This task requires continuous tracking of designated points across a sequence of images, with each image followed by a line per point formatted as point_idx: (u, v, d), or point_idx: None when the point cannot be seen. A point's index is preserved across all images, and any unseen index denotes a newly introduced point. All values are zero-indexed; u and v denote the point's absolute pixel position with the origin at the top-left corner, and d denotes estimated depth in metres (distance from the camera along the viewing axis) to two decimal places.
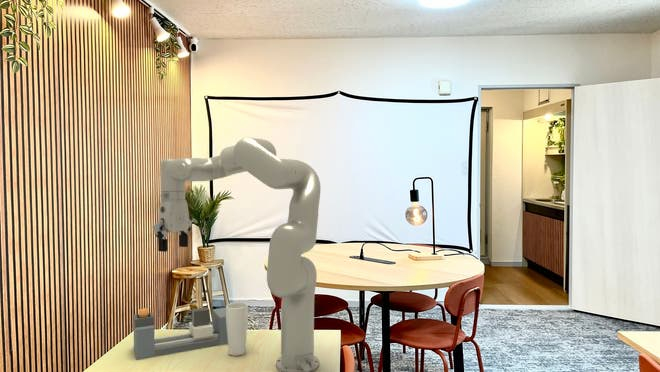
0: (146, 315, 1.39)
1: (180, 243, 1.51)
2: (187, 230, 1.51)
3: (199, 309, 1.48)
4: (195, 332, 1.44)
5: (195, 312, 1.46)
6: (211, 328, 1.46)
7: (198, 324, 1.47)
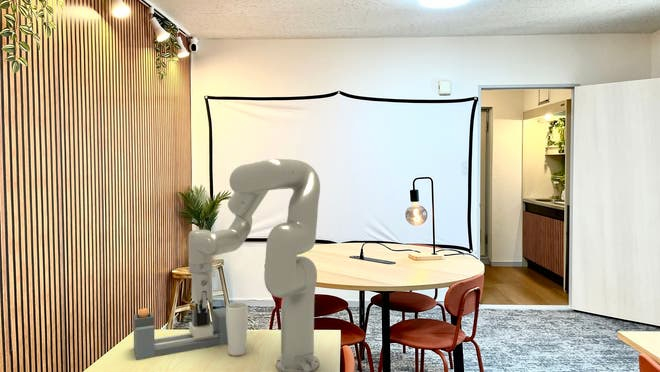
0: (146, 315, 1.39)
1: None
2: None
3: None
4: (195, 332, 1.44)
5: (195, 312, 1.46)
6: (211, 328, 1.46)
7: None
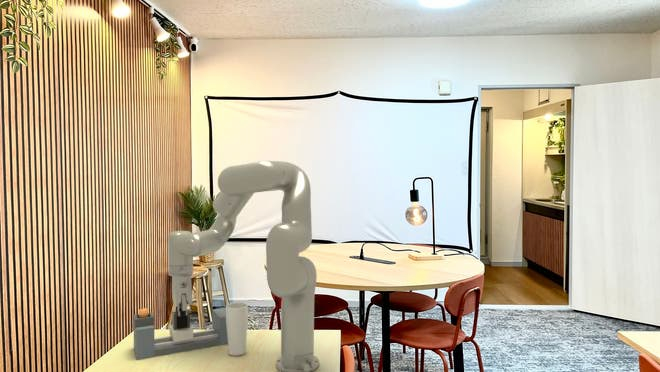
0: (146, 315, 1.39)
1: None
2: None
3: None
4: (175, 335, 1.41)
5: (175, 315, 1.43)
6: (191, 331, 1.43)
7: None
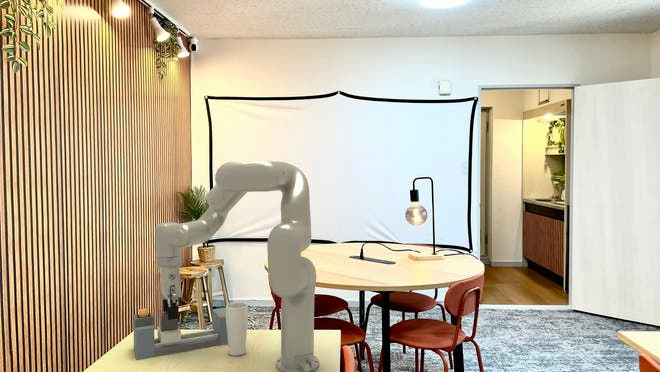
0: (146, 315, 1.39)
1: (165, 308, 1.47)
2: None
3: (167, 314, 1.43)
4: (162, 337, 1.39)
5: (163, 317, 1.41)
6: (179, 333, 1.41)
7: (166, 329, 1.42)
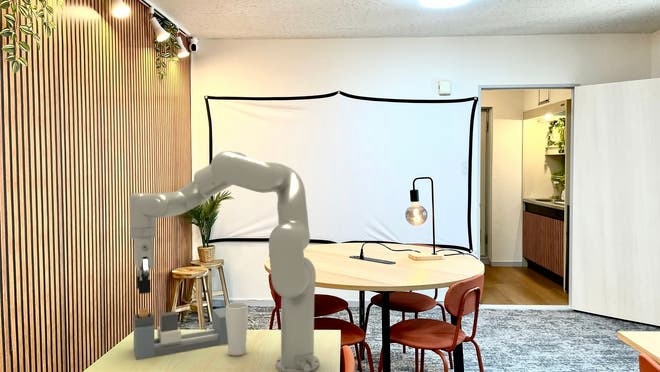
0: (146, 315, 1.39)
1: None
2: None
3: (167, 314, 1.43)
4: (162, 337, 1.39)
5: (163, 317, 1.41)
6: (179, 333, 1.41)
7: (166, 329, 1.42)
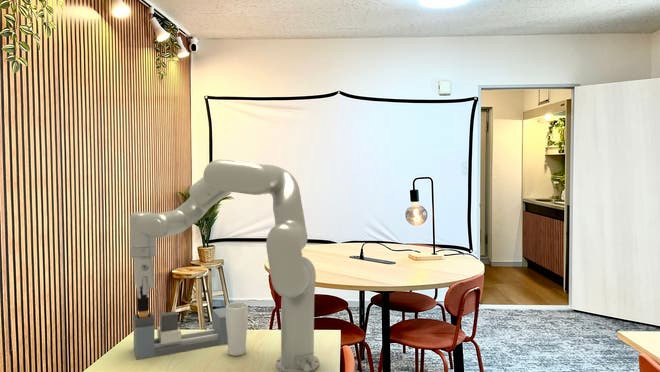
0: (146, 316, 1.39)
1: None
2: None
3: (167, 314, 1.43)
4: (162, 337, 1.39)
5: (163, 317, 1.41)
6: (179, 333, 1.41)
7: (166, 329, 1.42)
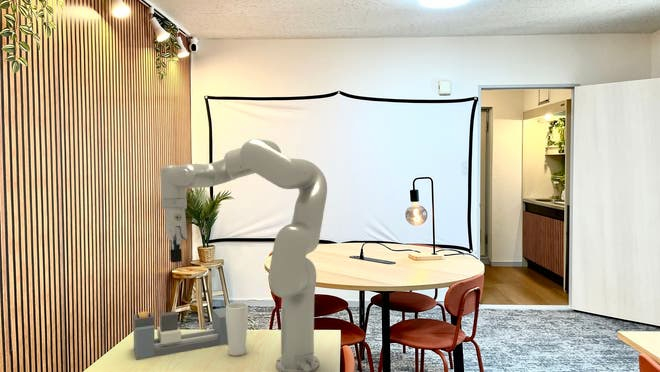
0: None
1: None
2: None
3: (167, 314, 1.43)
4: (162, 337, 1.39)
5: (163, 317, 1.41)
6: (179, 333, 1.41)
7: (166, 329, 1.42)
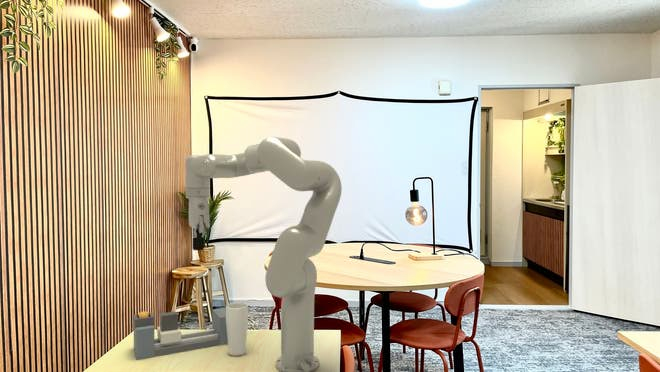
0: None
1: None
2: None
3: (167, 314, 1.43)
4: (162, 337, 1.39)
5: (163, 317, 1.41)
6: (179, 333, 1.41)
7: (166, 329, 1.42)
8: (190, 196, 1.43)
